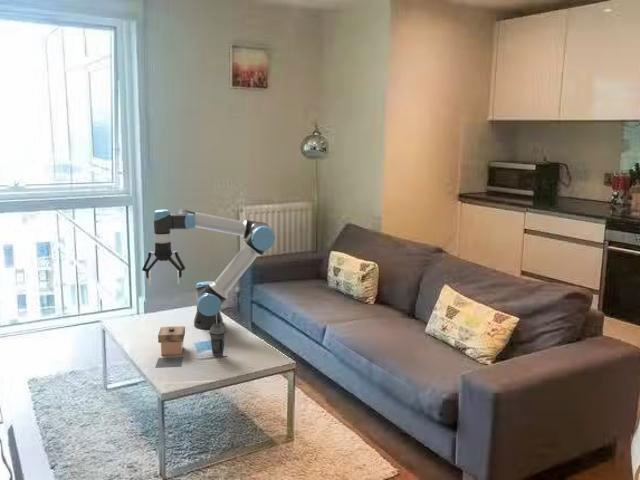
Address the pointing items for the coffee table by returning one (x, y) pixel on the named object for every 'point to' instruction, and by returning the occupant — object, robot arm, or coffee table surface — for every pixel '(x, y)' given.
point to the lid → (171, 334)
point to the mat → (169, 362)
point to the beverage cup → (217, 339)
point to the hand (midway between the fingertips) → (164, 284)
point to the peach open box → (171, 348)
